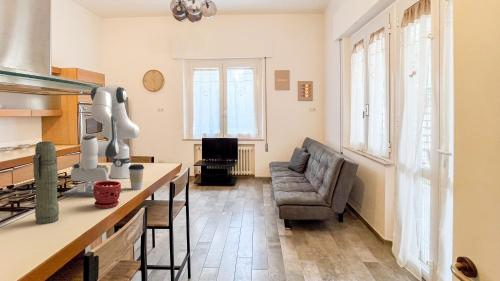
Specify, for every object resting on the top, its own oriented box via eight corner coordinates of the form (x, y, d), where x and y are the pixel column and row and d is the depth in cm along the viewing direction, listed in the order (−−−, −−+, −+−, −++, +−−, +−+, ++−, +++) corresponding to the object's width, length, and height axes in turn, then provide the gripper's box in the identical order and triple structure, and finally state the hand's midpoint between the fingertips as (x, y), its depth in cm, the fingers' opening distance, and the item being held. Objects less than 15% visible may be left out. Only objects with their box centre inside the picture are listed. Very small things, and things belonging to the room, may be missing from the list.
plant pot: (93, 210, 164) (92, 186, 163) (93, 203, 176) (93, 181, 175) (121, 208, 169) (121, 185, 168) (120, 201, 181) (120, 179, 180)
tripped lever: (79, 191, 192) (79, 183, 191) (85, 191, 192) (85, 183, 191) (77, 192, 189) (77, 184, 189) (83, 192, 189) (83, 184, 189)
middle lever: (91, 189, 197) (91, 181, 197) (96, 189, 197) (96, 181, 197) (89, 190, 195) (89, 182, 194) (94, 190, 195) (94, 182, 194)
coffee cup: (129, 191, 203) (129, 166, 202) (127, 187, 212) (127, 164, 210) (145, 189, 208) (145, 166, 206) (142, 186, 216) (142, 163, 215)
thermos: (28, 224, 142) (25, 143, 139) (46, 216, 154) (43, 140, 151) (48, 225, 142) (46, 143, 139) (64, 216, 154) (63, 141, 150)
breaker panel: (77, 189, 204) (77, 186, 204) (107, 190, 204) (107, 186, 204) (63, 196, 188) (63, 192, 188) (95, 197, 188) (95, 193, 188)
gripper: (110, 164, 192) (110, 187, 194) (74, 163, 192) (75, 186, 193) (106, 166, 186) (106, 190, 187) (68, 165, 186) (69, 189, 187)
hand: (90, 188), depth 190 cm, fingers closed
